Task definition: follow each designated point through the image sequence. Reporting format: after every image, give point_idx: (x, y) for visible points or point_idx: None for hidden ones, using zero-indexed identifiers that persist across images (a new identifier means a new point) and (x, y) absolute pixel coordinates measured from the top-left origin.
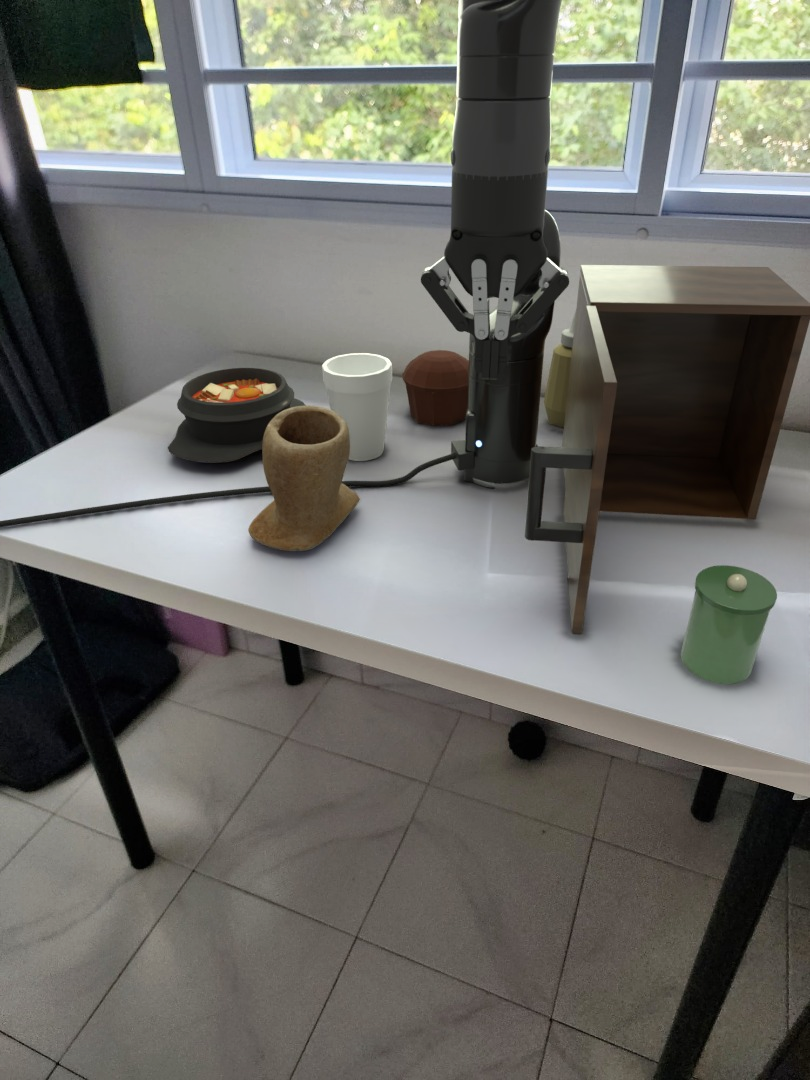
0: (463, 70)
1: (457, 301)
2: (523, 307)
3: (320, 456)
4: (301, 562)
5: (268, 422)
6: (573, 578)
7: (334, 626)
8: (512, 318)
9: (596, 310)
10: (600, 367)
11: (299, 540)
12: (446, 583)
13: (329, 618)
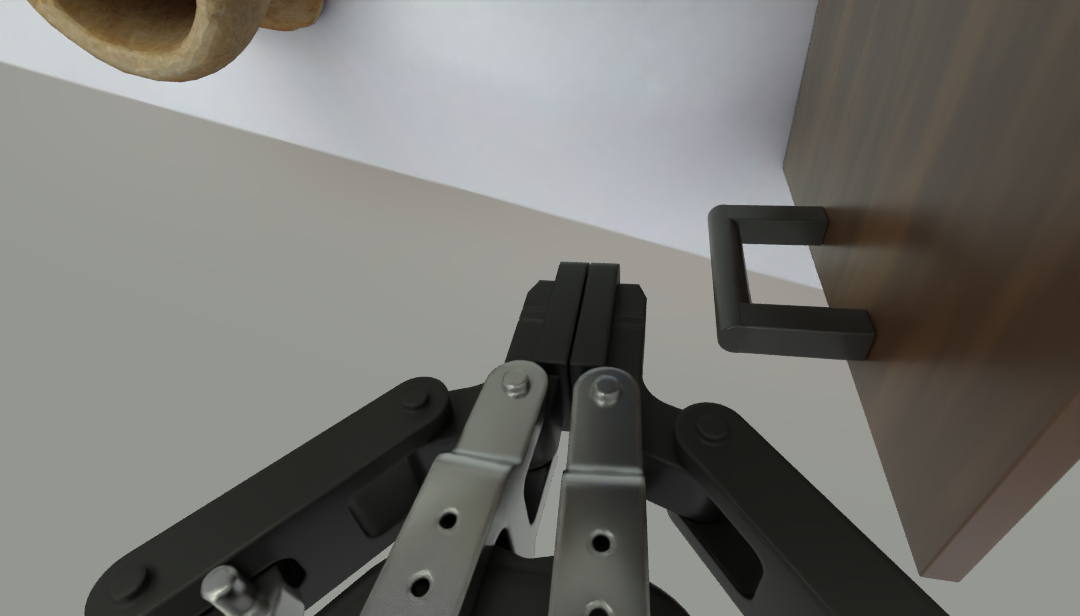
0: None
1: (363, 480)
2: (713, 488)
3: (223, 57)
4: (324, 32)
5: None
6: (807, 131)
7: (447, 183)
8: (652, 480)
9: None
10: (975, 504)
11: (294, 18)
12: (579, 57)
13: (434, 169)
